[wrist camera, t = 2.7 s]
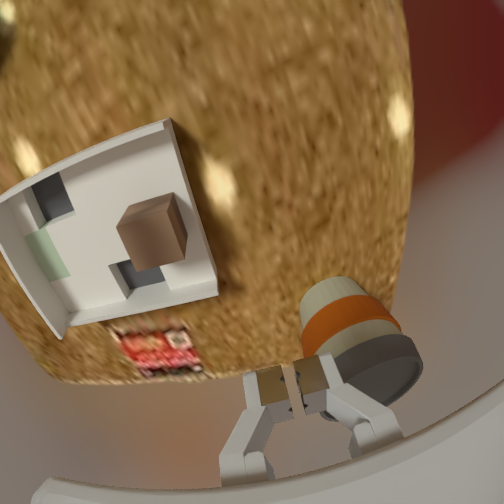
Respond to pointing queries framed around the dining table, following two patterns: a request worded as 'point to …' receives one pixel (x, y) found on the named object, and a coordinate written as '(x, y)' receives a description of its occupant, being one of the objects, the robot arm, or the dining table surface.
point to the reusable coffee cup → (359, 340)
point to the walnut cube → (153, 232)
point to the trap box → (102, 232)
